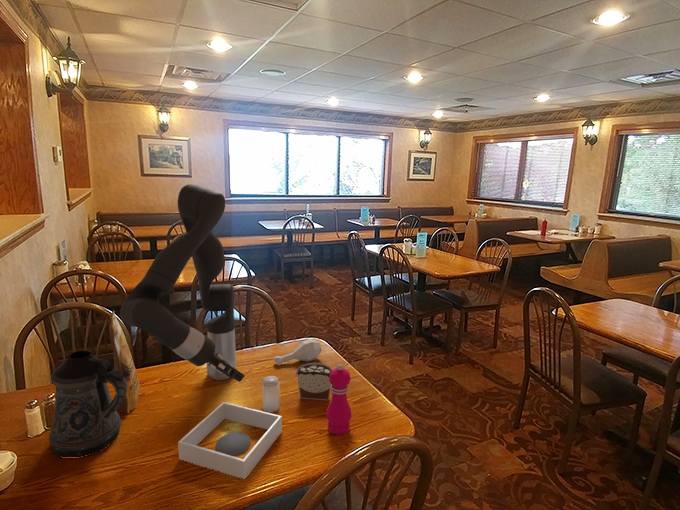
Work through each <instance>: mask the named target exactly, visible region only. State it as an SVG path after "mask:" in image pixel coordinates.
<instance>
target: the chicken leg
mask: <svg viewBox="0 0 680 510" xmlns="http://www.w3.org/2000/svg"><path fill="white" fill-rule="evenodd" d="M321 346H322V345H321V344H320V342H319V341H318V340H315V339H312V338H308V339H305V340H302V341H301V342H300V343H299V345H298V346H297V347H296V348H295V350H293V352H291V353H288V354H285V355H283V356H279V355H275V356H274V358H273V362H274V363H275V364H276V365H277V366H279V367H280V366H282V364H284V363H286V362H290V361H293V360H294V359H295V360H299V361H303V362H305V363H310V362H312V361H314V360H316V359H317V358H318V357H319V355H320V354H321V353H322V352H323V351H322V347H321ZM309 361H310V362H309Z"/></svg>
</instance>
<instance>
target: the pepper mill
mask: <svg viewBox="0 0 680 510" xmlns="http://www.w3.org/2000/svg"><path fill="white" fill-rule="evenodd" d="M329 381H330V383H331V387H330V392H331V394H332V396H331V399H330V400H331V401H330V402H329V405H328V407H327V409H326V414H325V416H326V420H327V430H328V431H329V432H330V433H331V434H333V435H337V436H339V435H345V434H347V433H348V432H349V430H350V428H351V425H350V421H351V419H352V409H351V406H350V404H349V401H348V397H347V394H348V391H349V384H350V382H351V374H350V372H349V371H348V370H347V369H346V368H344V365H343V364H342V363H339V364H337V366H336V368H333V369H332V371H331V373H330V375H329Z"/></svg>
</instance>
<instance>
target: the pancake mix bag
mask: <svg viewBox="0 0 680 510" xmlns="http://www.w3.org/2000/svg"><path fill="white" fill-rule="evenodd" d="M109 319H110V324H109V328H108V330H109V341H110V345H111V349H112V352H113V370H116V371H118V372H120V374H122V375H123V377H124V378H125V380H126V382H127V393H126V397H125V399H124V401H123V402H122V404H121V405H120V406H119V407H118V410H119V412H121V411H122V412H121V413H123V412H124V414H129V413H130V412H131V411H133V410H135V409H136V407H137V406H136V405H137V404H138V399H139V394H140V388H141V387H140V386H141V385H140V381H139V377H138V373H137V369H136V366H135V363H134V360H133V357H132V354H131V351H130V347H129V344H128V343H127V342H128V341H127V339H126V336H125V334H124V331H123V329H122V326H121V325H120V322H119V321H118V319H117V317H116V314H115V310H113V311H112V312H111V313H110V314H109ZM130 410H131V411H130Z"/></svg>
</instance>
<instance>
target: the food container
mask: <svg viewBox="0 0 680 510" xmlns="http://www.w3.org/2000/svg"><path fill="white" fill-rule="evenodd" d="M332 370H333V368H332V367H330V365H328V364H326V363H321V362H307V363H304V364H301V366H299V367H298V368H297V369H296V372H295V376H297V382H298V384H297V385H298V391H299V399H305V400H316V401H317V400H318V401H329V400H330V394H331V383H330V381H329V375H330V373H331V371H332Z"/></svg>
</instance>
